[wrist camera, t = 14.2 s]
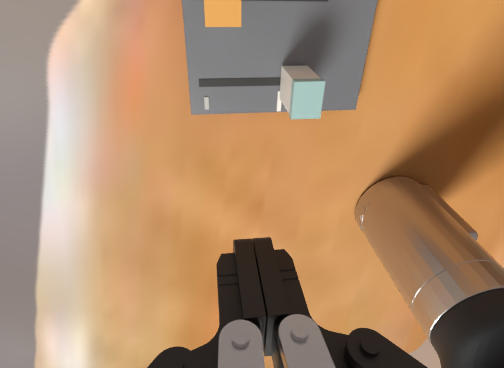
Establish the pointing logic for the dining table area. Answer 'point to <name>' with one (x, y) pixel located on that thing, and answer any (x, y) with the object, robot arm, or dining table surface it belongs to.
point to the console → (276, 53)
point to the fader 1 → (222, 13)
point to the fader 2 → (301, 92)
